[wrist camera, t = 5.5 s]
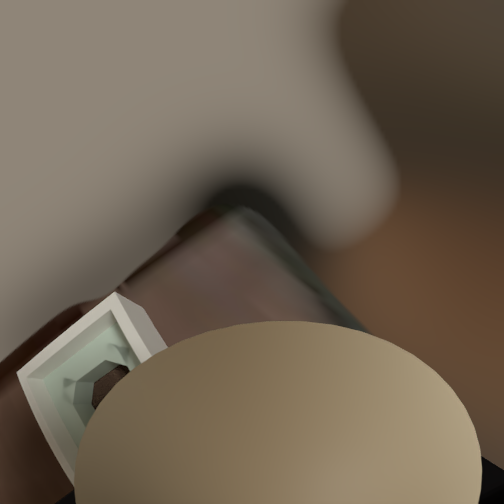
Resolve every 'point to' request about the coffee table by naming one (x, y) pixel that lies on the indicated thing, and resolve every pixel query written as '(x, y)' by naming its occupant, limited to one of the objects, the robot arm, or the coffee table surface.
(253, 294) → the coffee table surface
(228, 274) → the coffee table surface
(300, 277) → the coffee table surface
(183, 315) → the coffee table surface
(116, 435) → the peg
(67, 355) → the bore box
